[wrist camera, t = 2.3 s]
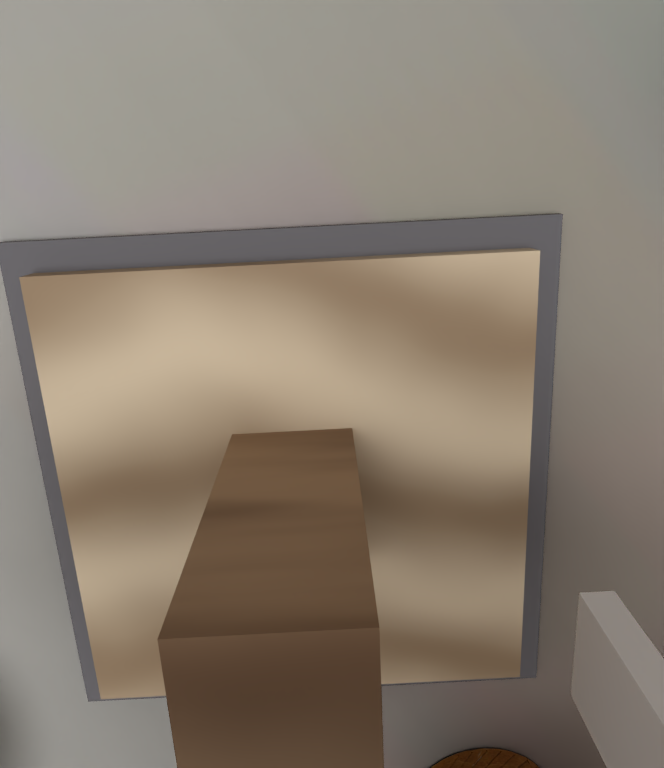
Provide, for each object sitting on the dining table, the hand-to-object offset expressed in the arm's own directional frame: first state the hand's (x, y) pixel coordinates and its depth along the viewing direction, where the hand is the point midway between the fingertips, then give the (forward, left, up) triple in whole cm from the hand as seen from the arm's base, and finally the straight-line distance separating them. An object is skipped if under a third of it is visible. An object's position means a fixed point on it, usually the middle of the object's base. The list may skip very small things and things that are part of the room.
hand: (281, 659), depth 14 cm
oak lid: (0, 0, -9) cm, 9 cm away
